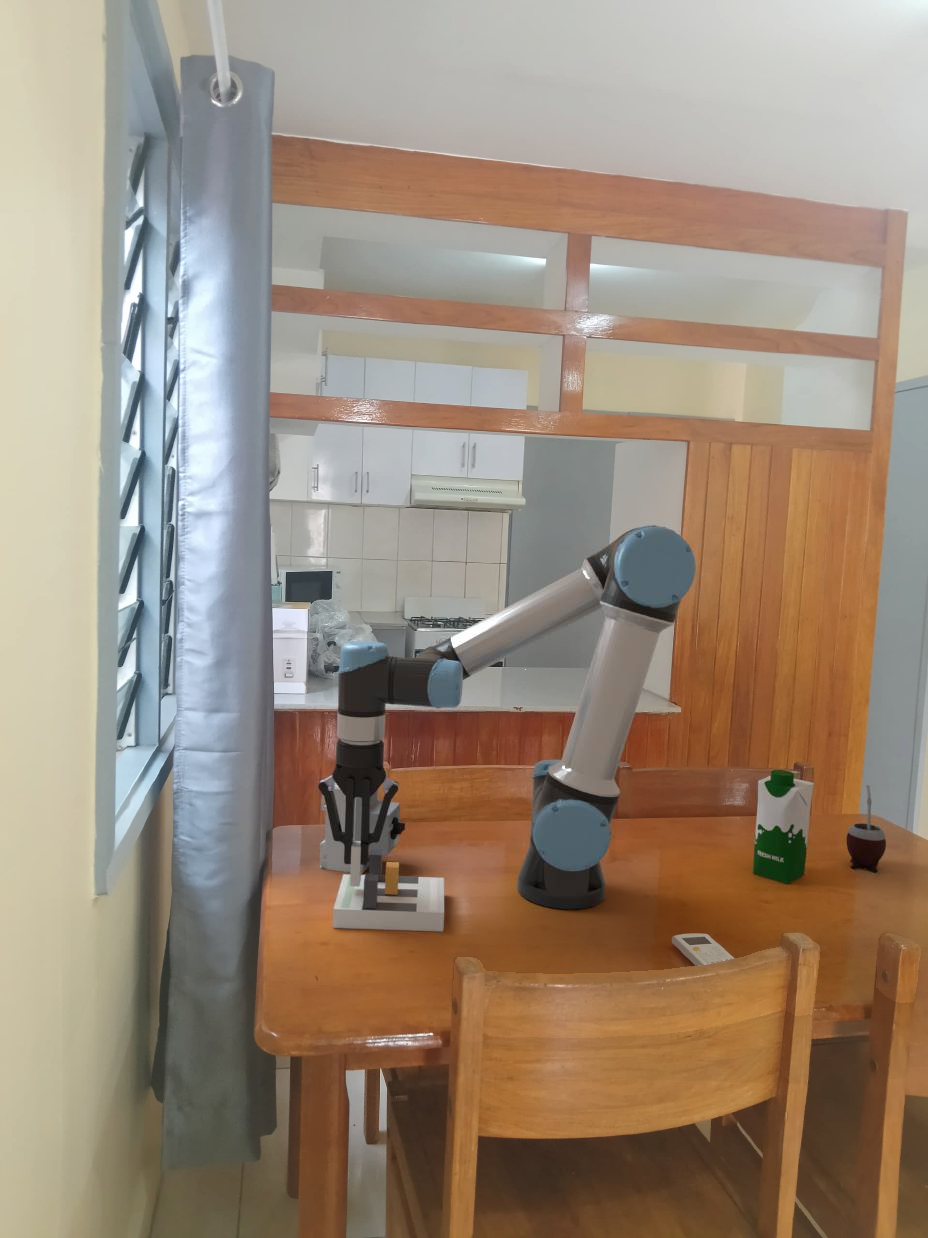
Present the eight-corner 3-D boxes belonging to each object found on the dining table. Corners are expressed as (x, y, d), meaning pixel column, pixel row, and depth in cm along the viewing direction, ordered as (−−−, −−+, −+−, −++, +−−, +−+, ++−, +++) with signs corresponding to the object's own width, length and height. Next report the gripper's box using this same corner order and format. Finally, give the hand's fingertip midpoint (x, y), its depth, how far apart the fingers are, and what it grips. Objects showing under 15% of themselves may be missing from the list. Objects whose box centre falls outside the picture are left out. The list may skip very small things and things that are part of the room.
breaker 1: (381, 875, 150) (382, 850, 150) (380, 880, 148) (381, 855, 148) (369, 874, 150) (370, 849, 150) (368, 880, 148) (369, 854, 147)
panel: (443, 895, 151) (443, 877, 151) (443, 931, 137) (444, 912, 137) (342, 891, 151) (343, 874, 150) (332, 928, 137) (333, 908, 137)
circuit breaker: (395, 878, 158) (398, 795, 156) (319, 868, 160) (321, 787, 159) (406, 863, 165) (410, 784, 164) (333, 854, 168) (336, 776, 166)
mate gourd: (864, 875, 170) (871, 798, 168) (833, 861, 177) (839, 787, 176) (893, 871, 172) (900, 796, 171) (861, 857, 180) (868, 784, 178)
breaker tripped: (398, 888, 145) (399, 862, 145) (397, 894, 143) (398, 868, 142) (385, 888, 145) (386, 862, 144) (384, 894, 142) (385, 867, 142)
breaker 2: (377, 902, 139) (378, 874, 139) (376, 908, 137) (377, 880, 137) (364, 901, 139) (365, 874, 139) (363, 908, 137) (364, 880, 137)
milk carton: (746, 873, 168) (754, 769, 166) (766, 862, 174) (775, 762, 173) (791, 887, 162) (800, 780, 160) (811, 875, 168) (820, 772, 167)
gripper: (402, 735, 145) (397, 875, 147) (322, 732, 145) (318, 873, 147) (400, 746, 138) (394, 894, 140) (316, 743, 137) (311, 891, 139)
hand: (355, 883), depth 143 cm, fingers closed
